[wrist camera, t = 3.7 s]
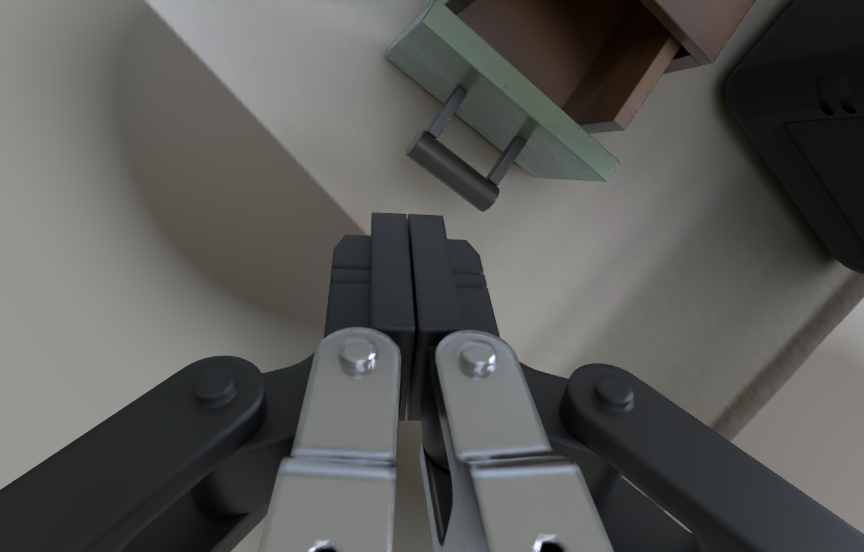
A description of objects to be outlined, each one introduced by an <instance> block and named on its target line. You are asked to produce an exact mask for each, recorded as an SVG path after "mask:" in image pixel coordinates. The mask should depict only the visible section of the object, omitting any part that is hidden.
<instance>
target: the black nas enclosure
mask: <svg viewBox="0 0 864 552" xmlns="http://www.w3.org/2000/svg"><path fill="white" fill-rule="evenodd" d="M725 101H726V104H727V107H728V108H729V110H730V111H731V113H732V114H733V116H734V117H735V119H736V120H737V121H738V123H739V124H740V126H741V127H742V128H743V130H744V131H745V133H746V134H747V135H748V137H749V138H750V140H751V141H752V143H753V144H754V145H755V147H756V148H757V150H758V151H759V152H760V154H761V155H762V157H763V158H764V159H765V161H766V162H767V164H768V165H769V167H770V168H771V169H772V171H773V172H774V174H775V175H776V176H777V178H778V179H779V181H780V182H781V183H782V185H783V186H784V188H785V189H786V190H787V192H788V193H789V195H790V196H791V198H792V199H793V200H794V202H795V203H796V205H797V206H798V207H799V209H800V210H801V212H802V213H803V214H804V216H805V217H806V219H807V220H808V222H809V223H810V224H811V226H812V227H813V229H814V230H815V231H816V233H817V234H818V236H819V237H820V238H821V240H822V241H823V243H824V244H825V246H826V247H827V248H828V250H829V251H830V252H831V254H832V255H833V256H834V257H835V258H836V259H837V260H838V261H839V262H840V263H842V264H843V265H844V266H846V267H847V268H849V269H851V270H853V271H856V272H859V273H862V274H864V0H794V1H793V3H792V4H791V5H790V6H789V7H788V8H787V10H786V11H785V12H784V13H783V14H782V15H781V17H780V18H779V19H778V20H777V21H776V22H775V23H774V25H773V26H772V27H771V28H770V29H769V30H768V32H767V33H766V34H765V35H764V36H763V37H762V39H761V40H760V41H759V42H758V43H757V44H756V45H755V47H754V48H753V49H752V50H751V51H750V52H749V54H748V55H747V56H746V57H745V58H744V59H743V60H742V62H741V63H740V64H739V65H738V66H737V67H736V69H735V70H734V71H733V72H732V73H731V75H730V76H729V78H728V79H727V82H726V86H725Z"/></svg>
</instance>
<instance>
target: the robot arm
mask: <svg viewBox="0 0 864 552" xmlns="http://www.w3.org/2000/svg"><path fill="white" fill-rule="evenodd" d="M406 402H407V413H408V420H421V424H422V436H423V438H422V444H421V451H420V463H421V469H422V476H423V482H424V489H425V495H426V502H427V508H428V515H429V521H430V528H431V534H432V541H433V547H434V552H864V534H863V533H861V532H860V531H858V530H857V529H855V528H854V527H853V526H851V525H850V524H848V523H847V522H845V521H844V520H842V519H841V518H840V517H838V516H837V515H835V514H834V513H832V512H831V511H829V510H828V509H826V508H825V507H824V506H822V505H821V504H819V503H818V502H816V501H815V500H813V499H812V498H810V497H809V496H808V495H806V494H805V493H803V492H802V491H800V490H799V489H797V488H796V487H795V486H793V485H792V484H790V483H789V482H787V481H786V480H784V479H783V478H782V477H780V476H779V475H777V474H776V473H774V472H773V471H771V470H770V469H769V468H767V467H766V466H764V465H763V464H761V463H760V462H758V461H757V460H755V459H754V458H753V457H751V456H750V455H748V454H747V453H745V452H744V451H742V450H741V449H740V448H738V447H737V446H735V445H733V444H732V443H731V442H729V441H728V440H727V439H725V438H724V437H722V436H721V435H719V434H718V433H716V432H715V431H714V430H712V429H711V428H709V427H708V426H706V425H705V424H703V423H702V422H701V421H699V420H698V419H696V418H695V417H693V416H692V415H690V414H689V413H687V412H686V411H685V410H683V409H682V408H680V407H679V406H677V405H676V404H674V403H673V402H672V401H670V400H669V399H667V398H666V397H664V396H663V395H661V394H660V393H659V392H657V391H656V390H654V389H653V388H651V387H650V386H648V385H647V384H645V383H644V382H643V381H641V380H640V379H638V378H637V377H635V376H634V375H632V374H631V373H629V372H627V371H625V370H623V369H621V368H618V367H615V366H612V365H607V364H599V363H598V364H588V365H584V366H581V367H579V368H578V369H576V370H575V371H574V372H573V373H572V375H571V376H570V378H569V379H566V378H562V377H559V376H555V375H551V374H548V373H544V372H541V371H537V370H534V369H532V368H530V367H528V366H526V365H524V364H522V363H521V362H519V361H518V358H517V356H516V354H515V352H514V350H513V349H512V348H511V347H510V346H509V345H508V344H507V343H506V342H505V341H504V340H502V339H501V338H500V336H499V332H498V328H497V324H496V320H495V316H494V312H493V308H492V304H491V300H490V296H489V292H488V288H487V284H486V280H485V276H484V274H483V268H482V264H481V260H480V256H479V254H478V253H477V252H476V251H475V249H474V248H473V247H472V246H471V245H470V244H469V243H468V242H467V241H466V240H453V239H447V236H446V230H445V224H444V219H443V216H436V215H416V214H408V219H407V218H406V214H394V213H374V212H372V218H371V236H361V235H345V236H344V238H343V239H342V240H341V241H340V242H339V243H338V245H337V246H336V247H335V248H334V252H333V261H332V271H331V282H330V289H329V297H328V307H327V315H326V325H325V333H324V338H323V340H322V341H321V342H320V343H319V345H318V347H317V349H316V351H315V352H314V353H313V354H312V355H311V356H310V357H308V358H307V359H305V360H303V361H302V362H300V363H298V364H295V365H293V366H291V367H287V368H283V369H279V370H275V371H271V372H266V373H261V372H260V370H259V369H258V368H257V367H256V366H255V365H254V364H252V363H251V362H249V361H247V360H245V359H242V358H239V357H234V356H215V357H209V358H205V359H202V360H199V361H196V362H194V363H192V364H190V365H188V366H186V367H184V368H183V369H182V370H180V371H178V372H177V373H175V374H174V375H172V376H171V377H169V378H168V379H166V380H165V381H163V382H162V383H160V384H159V385H157V386H156V387H154V388H153V389H151V390H150V391H148V392H147V393H145V394H144V395H142V396H141V397H139V398H138V399H136V400H135V401H133V402H132V403H130V404H129V405H127V406H126V407H124V408H123V409H121V410H120V411H118V412H117V413H115V414H114V415H112V416H111V417H109V418H108V419H106V420H105V421H103V422H102V423H100V424H99V425H97V426H96V427H94V428H93V429H91V430H90V431H88V432H87V433H85V434H84V435H82V436H81V437H79V438H78V439H76V440H75V441H73V442H72V443H70V444H69V445H67V446H66V447H64V448H63V449H61V450H60V451H58V452H57V453H55V454H54V455H52V456H51V457H49V458H48V459H46V460H45V461H43V462H42V463H40V464H39V465H37V466H36V467H34V468H33V469H31V470H30V471H28V472H27V473H25V474H24V475H22V476H21V477H19V478H18V479H16V480H14V481H13V482H12V483H10V484H8V485H7V486H6V487H4V488H2V489H1V490H0V552H230V551H231V550H232V549H233V548H234V547H235V546H236V545H237V544H238V543H239V542H240V541H241V540H242V539H243V538H244V537H245V536H246V535H247V534H248V533H249V532H250V531H251V530H252V529H253V528H254V527H255V526H256V525H257V524H258V523H259V522H260V521H261V520H262V519H263V518H264V517H265V516H266V515H267V517H266V521H265V525H264V530H263V533H262V538H261V541H260V545H259V550H258V552H392V542H393V523H394V522H393V521H394V505H395V487H396V443H397V434H398V425H399V421H402V420H403V421H404V419H405V410H406ZM622 476H625V477H626V478H627V479H628V480H629V481H631V482H632V483H633V484H634V485H636V486H637V487H638V488H639V489H641V490H642V491H643V492H644V493H645V494H647V495H648V496H649V497H650V498H652V499H653V500H654V501H655V502H657V503H658V504H659V505H660V506H661V507H663V508H664V509H665V510H666V511H668V512H669V513H670V514H671V515H673V516H674V517H675V518H676V519H677V520H679V521H680V522H681V523H682V524H684V525H685V526H686V527H687V528H688V529H689V530H690V531H691V532H692V533H693V534H692V533H690V532H688V531H687V530H685V529H684V528H683V527H682V526H680V525H679V524H678V523H677V522H676V521H674V520H673V519H672V518H671V517H669V516H668V515H667V514H666V513H665V512H663V511H662V510H661V509H660V508H658V507H657V506H656V505H655V504H654V503H652V502H651V501H650V500H649V499H647V498H646V497H645V496H644V495H643V494H641V493H640V492H639V491H638V490H636V489H635V488H634V487H633V486H632V485H630V484H629V483H628V482H627V481H625V480H624V479H623V478H622Z"/></svg>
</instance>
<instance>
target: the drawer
mask: <svg viewBox="0 0 864 552" xmlns="http://www.w3.org/2000/svg"><path fill="white" fill-rule="evenodd" d="M681 46H682V45H681V44H680V42H679V41H678V40H677V39H676V38H675V37H674V36H673V35H672V34H671V33H670V32H669V31H668V30H667V29H666V28H665V27H664V25H663V24H662V23H661V22H660V21H659V20H658V19H657V18H656V17H655V16H654V15H653V14H652V13H651V12H650V11H649V9H648V8H647V7H646V6H645V5H644V4H643V3H642V2H641V1H640V0H434V1H433V2H432V3H431V4H430V5H429V6H428V7H427V8H426V9H425V10H424V11H423V12H422V13H421V14H420V15H419V16H418V17H417V18H416V19H415V20H414V21H413V22H412V23H411V24H410V25H409V26H408V27H407V28H406V29H405V30H404V31H403V32H402V33H401V34H400V35H399V36H398V37H397V38H396V39H395V40H394V42H393V43H392V45H391V46H390V47H389V49H388V50H387V52H386V53H385V56H386V57H387V58H388V59H389V60H390V61H392V62H393V63H394V64H395V65H397V66H398V67H399V68H400V69H401V70H403V71H404V72H405V73H406V74H408V75H409V76H410V77H411V78H412V79H414V80H415V81H416V82H417V83H419V84H420V85H421V86H422V87H424V88H425V89H426V90H427V91H428V92H430V93H431V94H432V95H433V96H435V97H436V98H437V99H438V100H439V101H441V102H442V103H443V106H442V107H441V109H440V110H439V112H438V113H437V115H436V116H435V118H434V119H433V121H432V122H431V124H430V125H429V126H428V128H427V129H426V131H425V130H422V131H420V132H419V133H418V134H417V135H416V136H415V138H414V139H413V140H412V142H411V143H410V145H409V146H408V148H407V150H406V156H408V157H409V158H410V159H412V160H413V161H414V162H416V163H417V164H418V165H420V166H421V167H422V168H424V169H425V170H426V171H428V172H429V173H430V174H432V175H433V176H434V177H436V178H437V179H438V180H440V181H441V182H442V183H444V184H445V185H446V186H448V187H449V188H450V189H452V190H453V191H454V192H456V193H457V194H458V195H460V196H461V197H462V198H464V199H465V200H466V201H468V202H469V203H470V204H472V205H473V206H474V207H476V208H477V209H478V210H480V211H481V212H484V211H486V210H487V209H489V208H490V207H491V206H492V205H493V203H494V202H495V201H496V199H497V197H498V195H499V188H498V187H496V186H497V185H498V184H499V183H500V181H501V180H502V178H503V177H504V175H505V174H506V172H507V171H508V169H509V168H510V166H511V165H512V164H513V162H516V163H517V164H518V165H519V166H520V167H522V168H523V169H524V170H525V171H527V172H528V173H529V174H530V175H531V176H533V177H535V178H551V179H567V180H584V181H600V182H607V181H608V179H609V178H610V176H611V175H612V173H613V172H614V171H615V169H616V168H617V166H618V165H619V163H620V162H619V161H618V160H617V159H616V158H615V157H614V156H613V155H612V154H611V153H609V152H608V151H607V150H606V149H605V148H604V147H603V146H602V145H600V144H599V143H598V142H597V141H596V140H595V139H594V138H593V137H592V136H590V135H589V133H600V132H612V131H623V130H625V128H626V127H627V125H628V124H629V122H630V121H631V119H632V118H633V116H634V115H635V113H636V112H637V110H638V109H639V108H640V106H641V105H642V103H643V102H644V100H645V99H646V97H647V96H648V94H649V93H650V91H651V90H652V88H653V87H654V85H655V84H656V82H657V81H658V79H659V78H660V77H661V75H662V74H663V72H664V71H665V69H666V68H667V66H668V65H669V63H670V62H671V60H672V59H673V57H674V56H675V54H676V53H677V51H678V50H679V48H680V47H681ZM454 113H455V114H457V115H458V116H459V117H460V118H462V119H463V120H464V121H465V122H466V123H468V124H469V125H470V126H471V127H473V128H474V129H475V130H476V131H478V132H479V133H480V134H481V135H482V136H484V137H485V138H486V139H487V140H489V141H490V142H491V143H492V144H493V145H495V146H496V147H497V148H498V149H500V150H501V151H502V152H503V154H502V155H501V157H500V158H499V160H498V161H497V163H496V164H495V165H494V167H493V168H492V170H491V171H490V173H489V174H488V176H487V177H486V178H485V177H484V176H482V175H481V174H480V173H478V172H477V171H476V170H475V169H473V168H472V167H471V166H469V165H468V164H467V163H466V162H464V161H463V160H462V159H461V158H459V157H458V156H457V155H455V154H454V153H453V152H452V151H450V150H449V149H448V148H446V147H445V146H444V145H443V144H441V143H440V142H439V141H438V140H436V138H438V137H439V135H440V134H441V132H442V131H443V129H444V128H445V126H446V125H447V123H448V122H449V120H450V119H451V117H452V116H453V114H454Z"/></svg>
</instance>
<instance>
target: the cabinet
mask: <svg viewBox="0 0 864 552" xmlns="http://www.w3.org/2000/svg"><path fill="white" fill-rule="evenodd" d="M640 1H641V2H642V3H643V4H644V5H645V6H646V7H647V8H648V9H649V11H650V12H651V13H652V14H653V15H654V16H655V17H656V18H657V19H658V20H659V21H660V22H661V23H662V24H663V25H664V27H665V28H666V29H667V30H668V31H669V32H670V33H671V34H672V35H673V36H674V37H675V38H676V39H677V40H678V41H679V42H680V44H681V45H682V46H681V47H680V48H679V50H678V51H677V53H676V54H675V56H674V57H673V59H672V60H671V62H670V63H669V65H668V66H667V68H666V69H665V71H664V72H663V74H666V73H670V72H675V71H679V70H684V69H688V68H693V67H697V66H700V65H705V64H709V63H713V62H714V60H715V59H716V57H717V56H718V54H719V53H720V51H721V50H722V48H723V47H724V45H725V44H726V43H727V41H728V40H729V38H730V37H731V35H732V34H733V32H734V31H735V29H736V28H737V26H738V25H739V23H740V22H741V20H742V19H743V17H744V16H745V15H746V13H747V12H748V10H749V9H750V7H751V6H752V4H753V3H754V1H755V0H640Z"/></svg>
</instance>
